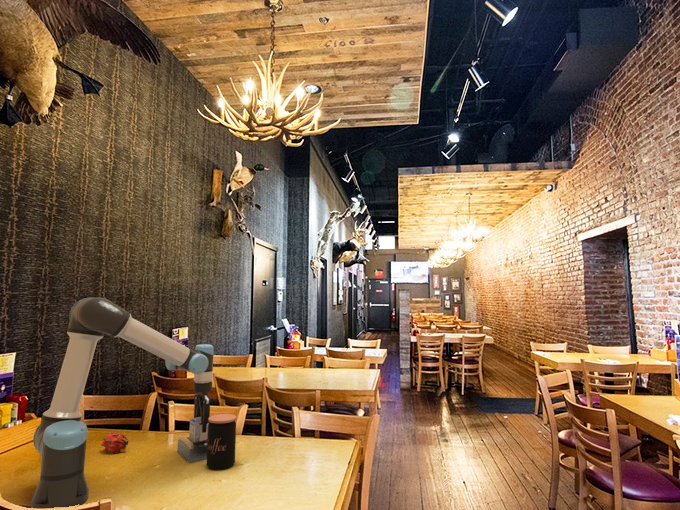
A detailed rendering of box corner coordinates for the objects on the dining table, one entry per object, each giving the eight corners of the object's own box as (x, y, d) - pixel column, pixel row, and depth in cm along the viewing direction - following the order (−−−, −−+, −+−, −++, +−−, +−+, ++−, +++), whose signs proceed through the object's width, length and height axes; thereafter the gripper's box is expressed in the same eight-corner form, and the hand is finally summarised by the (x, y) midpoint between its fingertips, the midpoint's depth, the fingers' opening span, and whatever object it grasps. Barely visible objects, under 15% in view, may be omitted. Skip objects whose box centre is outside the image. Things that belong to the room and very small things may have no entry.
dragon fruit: (103, 453, 181) (125, 460, 177) (92, 446, 175) (114, 453, 171) (116, 433, 187) (137, 440, 183) (105, 426, 180) (127, 433, 177)
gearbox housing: (230, 454, 176) (230, 436, 177) (189, 463, 166) (189, 444, 167) (216, 444, 188) (217, 428, 189) (177, 451, 178) (178, 434, 179)
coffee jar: (200, 467, 161) (202, 418, 163) (220, 459, 170) (221, 412, 172) (221, 473, 156) (223, 422, 158) (240, 463, 165) (242, 416, 167)
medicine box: (205, 436, 181) (206, 415, 182) (211, 438, 178) (212, 416, 179) (188, 440, 175) (189, 418, 176) (194, 442, 172) (195, 420, 173)
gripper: (219, 383, 175) (217, 442, 172) (204, 377, 189) (202, 431, 186) (201, 385, 170) (198, 445, 167) (187, 379, 185) (184, 434, 182)
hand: (200, 438), depth 177 cm, fingers closed on medicine box, 5 cm apart
